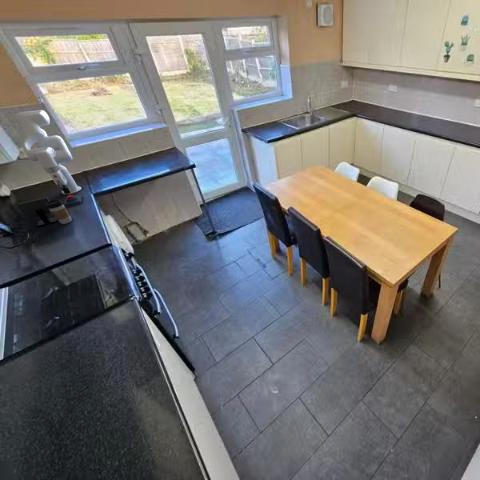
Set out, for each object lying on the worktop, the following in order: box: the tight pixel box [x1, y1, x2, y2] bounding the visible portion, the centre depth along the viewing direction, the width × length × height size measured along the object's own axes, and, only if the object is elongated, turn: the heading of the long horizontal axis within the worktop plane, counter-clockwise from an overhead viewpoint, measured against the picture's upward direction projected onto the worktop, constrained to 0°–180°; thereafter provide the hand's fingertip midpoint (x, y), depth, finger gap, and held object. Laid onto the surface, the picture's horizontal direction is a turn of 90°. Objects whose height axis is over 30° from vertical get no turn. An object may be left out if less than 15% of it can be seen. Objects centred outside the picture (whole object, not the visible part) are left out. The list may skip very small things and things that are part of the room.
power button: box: [66, 194, 74, 199], centre depth 198 cm, size 4×4×2 cm
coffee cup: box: [46, 199, 73, 225], centre depth 175 cm, size 8×8×15 cm
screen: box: [17, 196, 52, 219], centre depth 173 cm, size 2×14×10 cm, turn 124°
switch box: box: [63, 194, 82, 208], centre depth 200 cm, size 11×9×4 cm
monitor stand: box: [35, 209, 59, 228], centre depth 176 cm, size 7×10×10 cm
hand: (67, 193), depth 196 cm, fingers closed
